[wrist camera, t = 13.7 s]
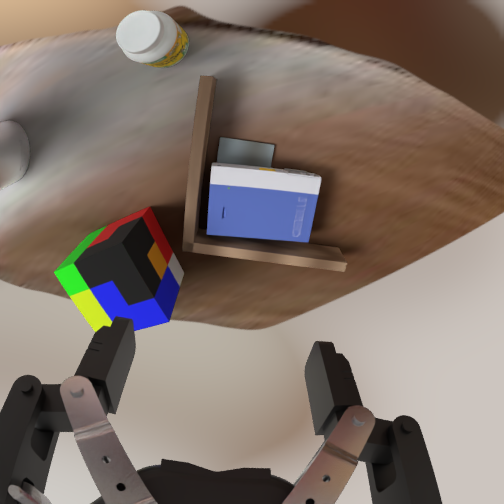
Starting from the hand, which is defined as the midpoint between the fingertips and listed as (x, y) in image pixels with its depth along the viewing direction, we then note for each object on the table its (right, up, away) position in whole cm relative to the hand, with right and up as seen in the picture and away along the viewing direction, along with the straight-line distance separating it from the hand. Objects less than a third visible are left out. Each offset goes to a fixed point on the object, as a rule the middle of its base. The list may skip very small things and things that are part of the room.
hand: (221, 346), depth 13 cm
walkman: (-4, +10, +21) cm, 23 cm away
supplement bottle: (-8, +27, +15) cm, 31 cm away
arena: (+4, +13, +22) cm, 26 cm away
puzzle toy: (-14, +4, +26) cm, 30 cm away
